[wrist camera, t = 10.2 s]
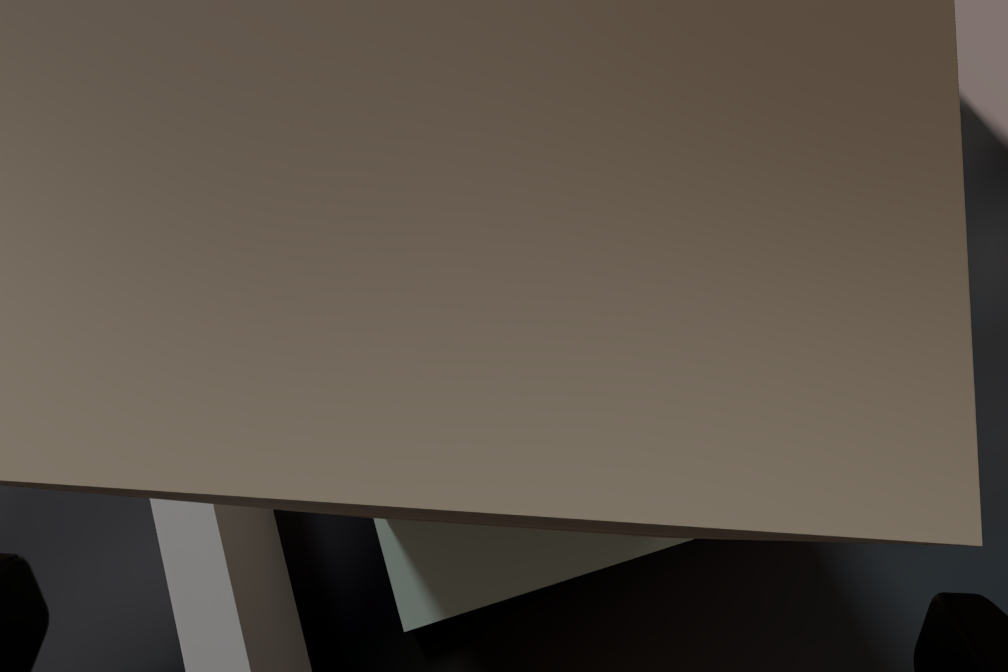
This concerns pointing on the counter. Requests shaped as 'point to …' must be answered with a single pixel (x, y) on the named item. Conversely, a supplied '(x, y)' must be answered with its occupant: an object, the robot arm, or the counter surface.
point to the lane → (229, 588)
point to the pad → (489, 563)
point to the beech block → (493, 262)
